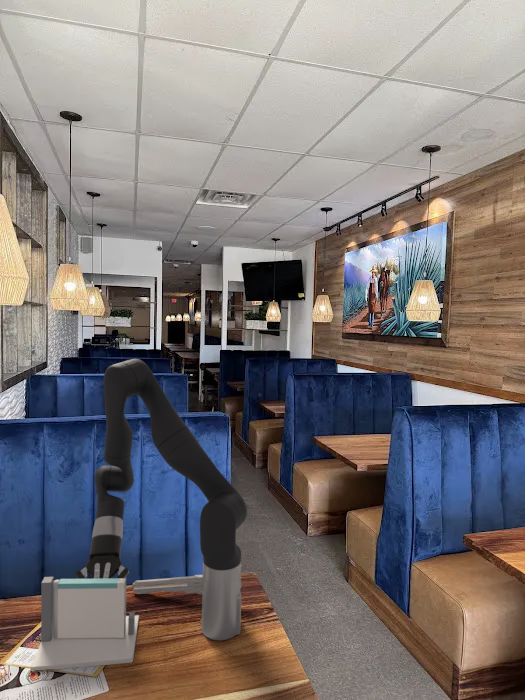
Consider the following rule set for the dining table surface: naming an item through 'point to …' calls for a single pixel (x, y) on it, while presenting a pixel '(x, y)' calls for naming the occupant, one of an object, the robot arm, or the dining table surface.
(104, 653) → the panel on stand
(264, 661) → the dining table surface
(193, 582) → the grey flat strip
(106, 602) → the gate panel
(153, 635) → the dining table surface
